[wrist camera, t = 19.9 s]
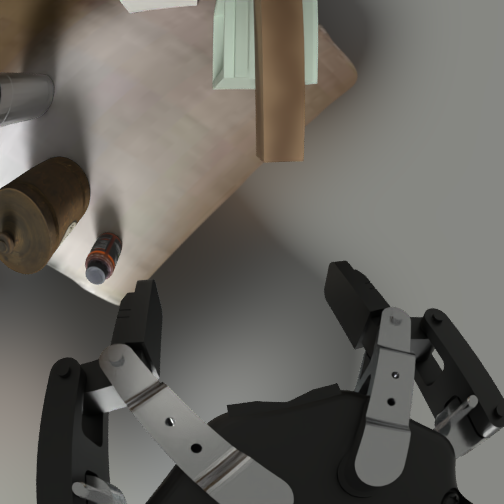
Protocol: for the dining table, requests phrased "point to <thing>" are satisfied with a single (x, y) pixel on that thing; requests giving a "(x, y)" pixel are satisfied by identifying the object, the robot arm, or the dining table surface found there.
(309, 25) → the rest stand
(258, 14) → the hook bar
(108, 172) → the dining table surface
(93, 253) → the supplement bottle
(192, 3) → the shelf stand
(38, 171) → the wooden container
